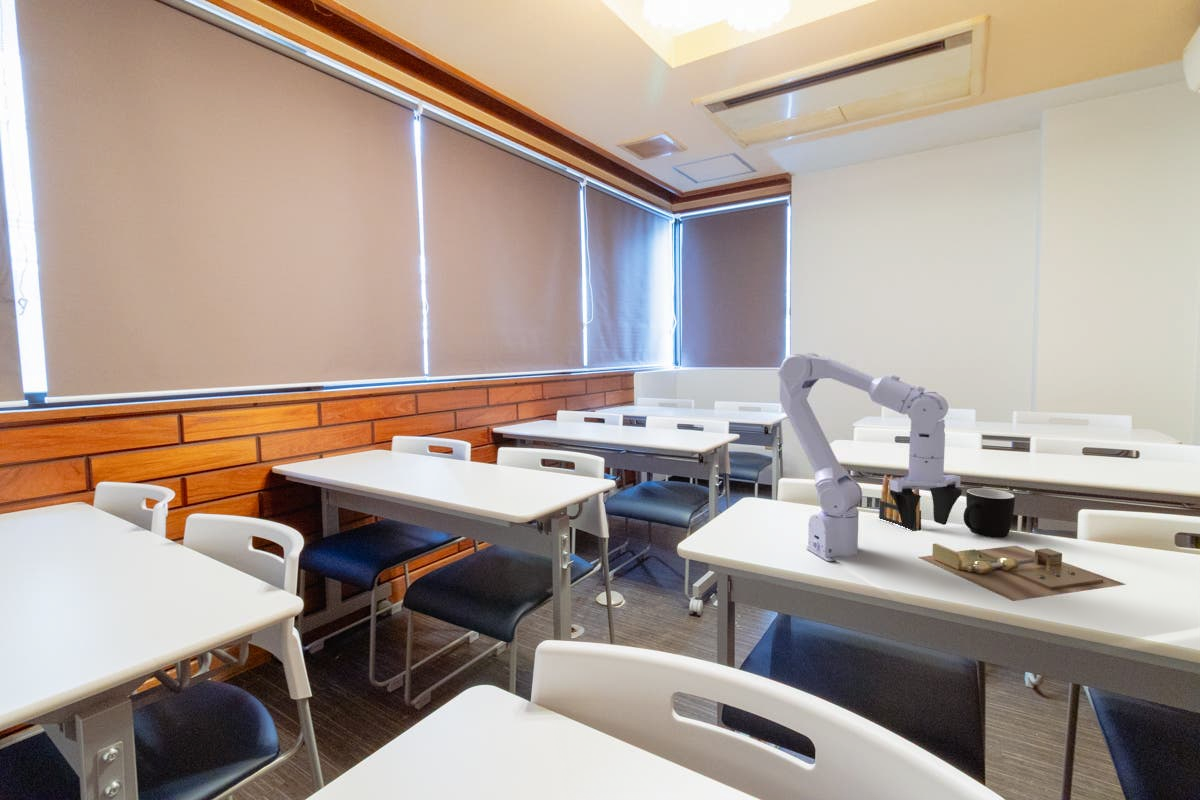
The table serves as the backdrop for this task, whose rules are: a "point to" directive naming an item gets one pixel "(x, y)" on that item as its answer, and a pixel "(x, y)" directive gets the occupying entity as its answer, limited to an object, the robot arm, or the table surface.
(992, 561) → the leaf
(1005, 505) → the mug
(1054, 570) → the hinge base
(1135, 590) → the table surface
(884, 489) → the ammunition clip
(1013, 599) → the plank
